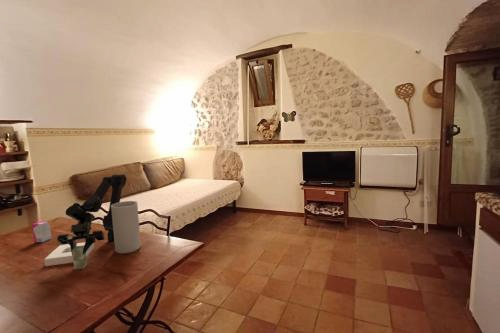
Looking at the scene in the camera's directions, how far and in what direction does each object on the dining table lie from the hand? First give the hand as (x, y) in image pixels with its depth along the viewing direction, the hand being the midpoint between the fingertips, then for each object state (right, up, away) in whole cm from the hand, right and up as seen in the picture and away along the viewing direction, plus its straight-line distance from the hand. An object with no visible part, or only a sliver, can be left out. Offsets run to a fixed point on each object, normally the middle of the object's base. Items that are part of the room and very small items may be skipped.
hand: (78, 254), depth 117 cm
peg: (0, -6, +2) cm, 7 cm away
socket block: (-13, -5, +13) cm, 19 cm away
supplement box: (-44, -4, +34) cm, 56 cm away
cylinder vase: (+13, -4, +20) cm, 25 cm away
